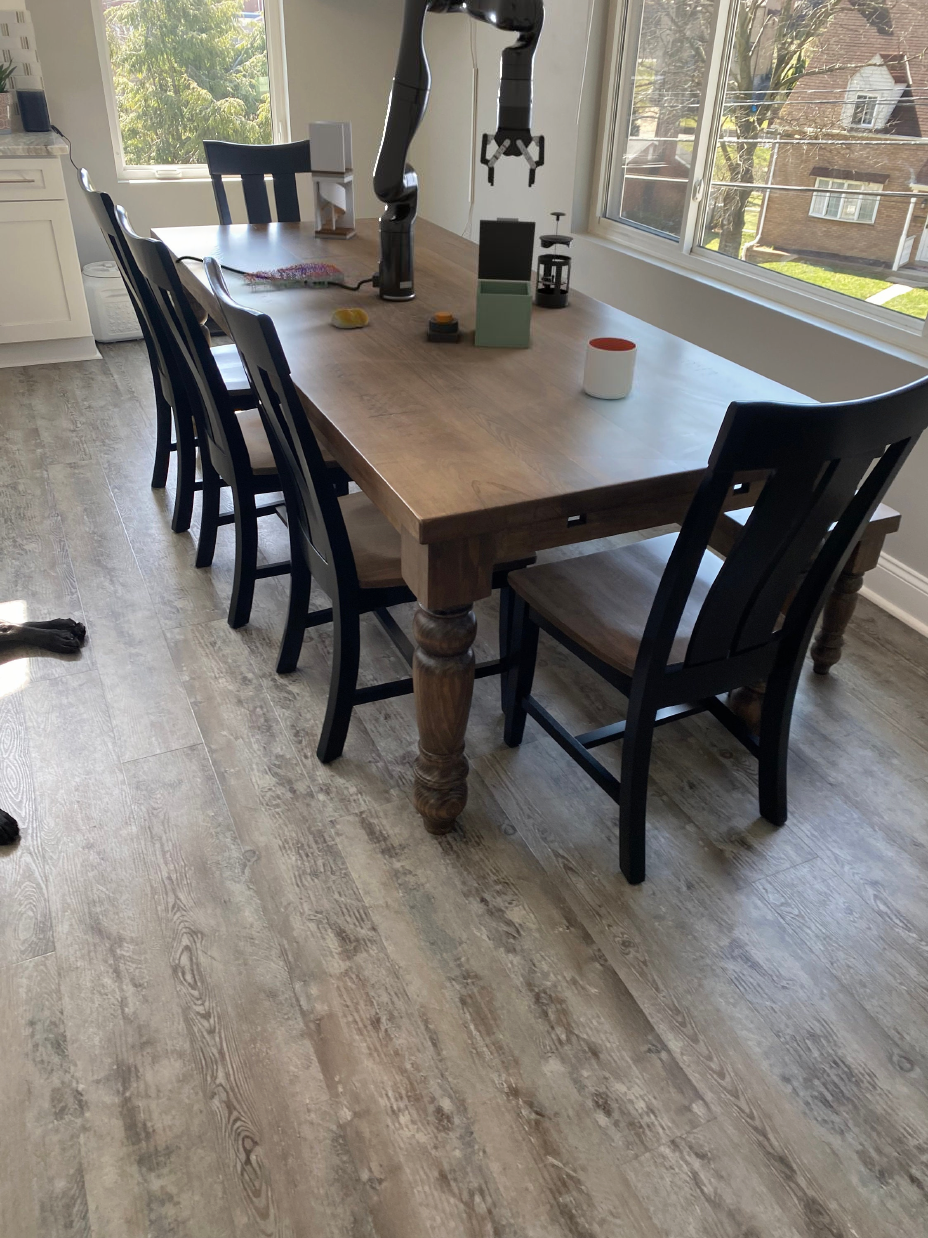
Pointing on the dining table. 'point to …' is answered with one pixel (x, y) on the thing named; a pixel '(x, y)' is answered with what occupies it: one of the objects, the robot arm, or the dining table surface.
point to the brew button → (443, 317)
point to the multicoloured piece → (288, 278)
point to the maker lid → (506, 249)
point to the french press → (555, 295)
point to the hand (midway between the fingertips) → (510, 185)
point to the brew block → (443, 331)
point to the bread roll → (349, 318)
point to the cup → (609, 367)
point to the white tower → (332, 178)
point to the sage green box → (503, 314)
